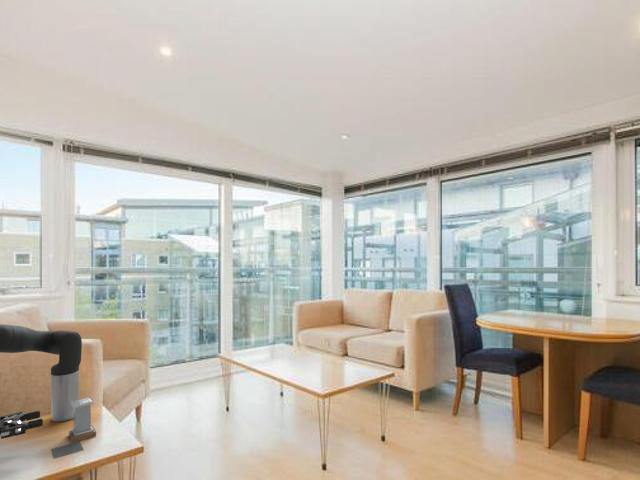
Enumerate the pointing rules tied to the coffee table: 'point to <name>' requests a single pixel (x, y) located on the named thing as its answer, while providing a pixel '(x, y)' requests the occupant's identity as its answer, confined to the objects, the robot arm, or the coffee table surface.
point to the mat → (66, 449)
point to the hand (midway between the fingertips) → (41, 417)
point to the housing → (82, 416)
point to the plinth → (83, 436)
